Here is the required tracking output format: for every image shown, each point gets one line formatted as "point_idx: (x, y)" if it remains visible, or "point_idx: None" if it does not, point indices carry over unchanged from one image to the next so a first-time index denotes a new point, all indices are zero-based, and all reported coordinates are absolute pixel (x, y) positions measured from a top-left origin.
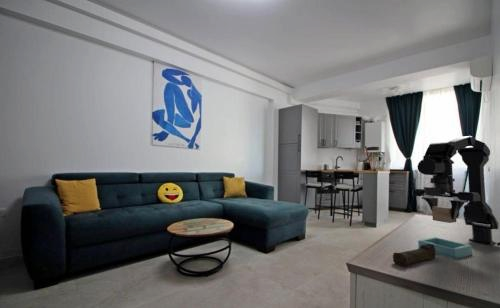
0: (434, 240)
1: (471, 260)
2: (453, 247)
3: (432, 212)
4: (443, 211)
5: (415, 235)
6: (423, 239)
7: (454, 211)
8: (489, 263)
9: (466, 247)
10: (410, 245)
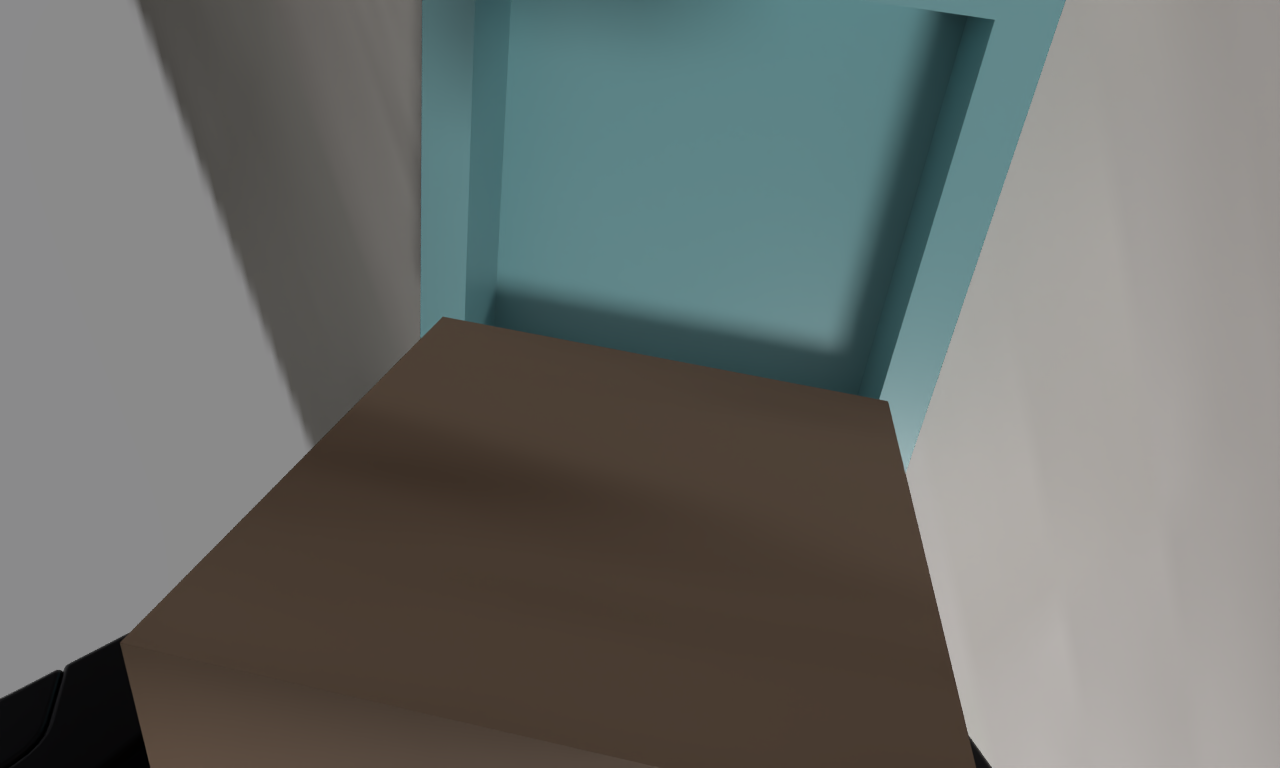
0: (871, 397)
1: (365, 53)
2: None
3: (926, 576)
4: (449, 554)
5: (1199, 746)
6: (1004, 147)
7: (108, 659)
8: (231, 123)
9: (425, 272)
10: (1187, 60)
